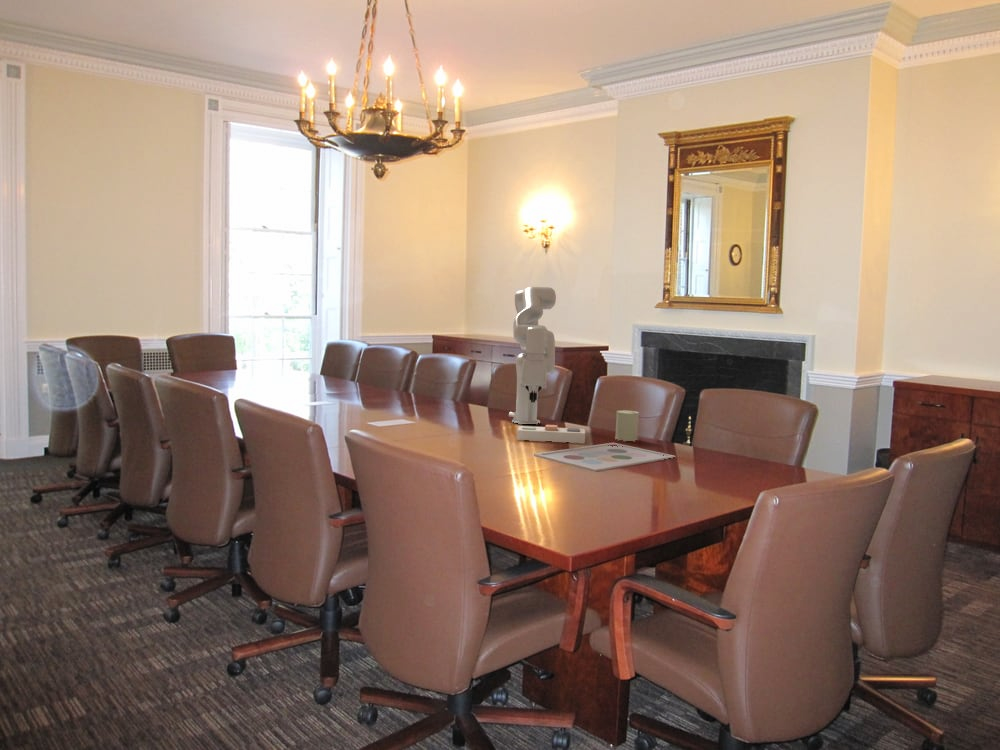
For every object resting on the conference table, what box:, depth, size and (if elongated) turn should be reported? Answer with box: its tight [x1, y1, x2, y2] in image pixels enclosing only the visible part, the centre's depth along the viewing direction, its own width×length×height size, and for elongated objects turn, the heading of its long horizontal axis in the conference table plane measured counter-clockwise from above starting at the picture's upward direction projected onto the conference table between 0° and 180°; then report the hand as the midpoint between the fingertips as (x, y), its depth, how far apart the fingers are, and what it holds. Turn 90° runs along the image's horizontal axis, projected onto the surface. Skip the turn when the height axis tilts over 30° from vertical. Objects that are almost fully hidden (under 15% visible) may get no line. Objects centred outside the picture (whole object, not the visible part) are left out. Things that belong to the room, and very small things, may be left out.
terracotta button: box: [544, 424, 558, 431], centre depth 339 cm, size 5×5×4 cm
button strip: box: [516, 425, 586, 444], centre depth 339 cm, size 27×11×4 cm, turn 86°
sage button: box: [522, 425, 536, 430], centre depth 339 cm, size 5×5×4 cm
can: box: [614, 409, 640, 442], centre depth 344 cm, size 9×9×12 cm
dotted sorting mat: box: [533, 442, 676, 472], centre depth 307 cm, size 30×1×43 cm
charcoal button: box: [567, 427, 581, 432], centre depth 338 cm, size 5×5×4 cm
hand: (532, 401), depth 342 cm, fingers closed
